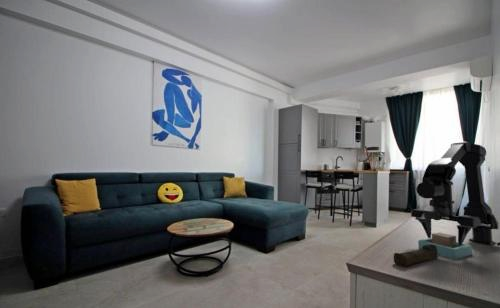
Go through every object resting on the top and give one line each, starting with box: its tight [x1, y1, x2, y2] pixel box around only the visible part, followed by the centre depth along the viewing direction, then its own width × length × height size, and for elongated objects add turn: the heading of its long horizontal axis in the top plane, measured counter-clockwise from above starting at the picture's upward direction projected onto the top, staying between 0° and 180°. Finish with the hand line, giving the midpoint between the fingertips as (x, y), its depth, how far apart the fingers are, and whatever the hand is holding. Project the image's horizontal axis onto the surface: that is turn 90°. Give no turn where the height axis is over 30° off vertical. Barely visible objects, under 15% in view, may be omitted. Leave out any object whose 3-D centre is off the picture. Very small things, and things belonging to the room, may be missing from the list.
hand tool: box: [393, 245, 439, 268], centre depth 71 cm, size 19×4×5 cm, turn 111°
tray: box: [417, 237, 473, 260], centre depth 81 cm, size 11×11×3 cm
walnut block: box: [431, 232, 457, 248], centre depth 81 cm, size 5×5×5 cm
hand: (444, 241), depth 81 cm, fingers open, 9 cm apart
